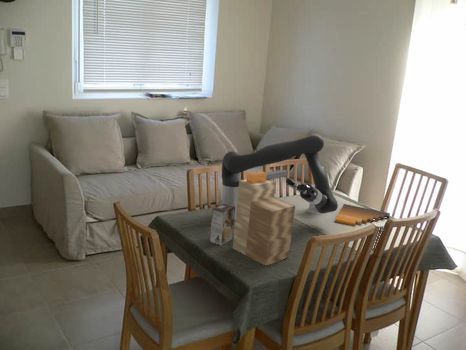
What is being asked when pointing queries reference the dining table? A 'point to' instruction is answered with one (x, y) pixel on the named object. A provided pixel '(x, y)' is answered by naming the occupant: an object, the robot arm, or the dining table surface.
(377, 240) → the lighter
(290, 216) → the stand
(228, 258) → the dining table surface
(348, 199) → the dining table surface
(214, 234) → the coffee box
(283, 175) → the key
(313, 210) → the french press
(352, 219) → the pan flute
